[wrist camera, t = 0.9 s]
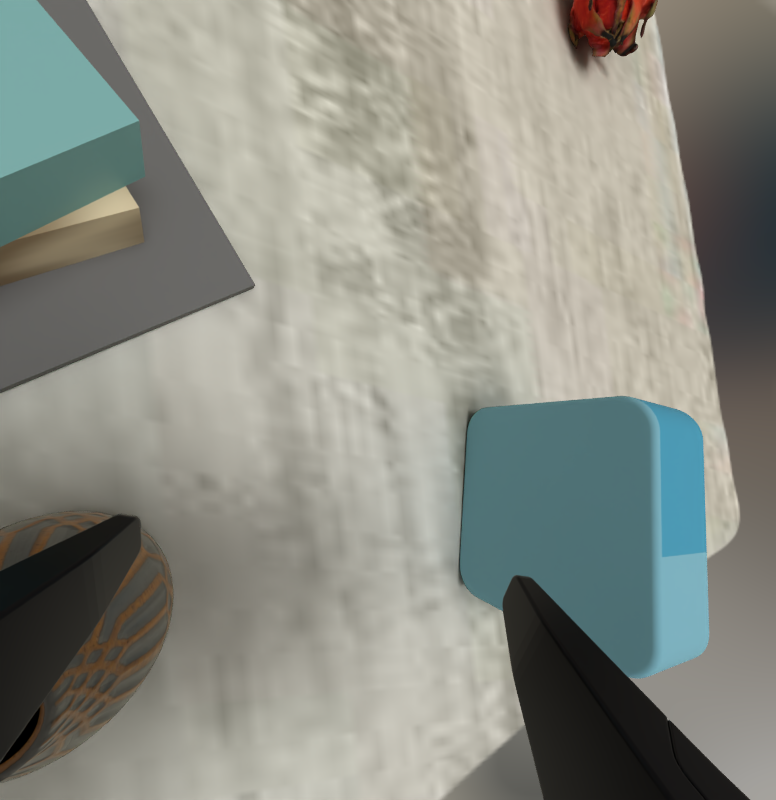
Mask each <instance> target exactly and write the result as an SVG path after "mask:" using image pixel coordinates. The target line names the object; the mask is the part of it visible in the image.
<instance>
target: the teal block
mask: <svg viewBox="0 0 776 800" xmlns="http://www.w3.org/2000/svg"><path fill="white" fill-rule="evenodd" d="M143 177H145V169H144V160H143V150H142V141H141V132H140V123H139V120H138V119H137V117H136V116H135V115H134V114H133V113H132V112H131V110H130V109H129V108H128V107H127V106H126V105H125V103H124V102H123V101H122V100H121V99H120V97H119V96H118V95H117V94H116V93H115V92H114V90H113V89H112V88H111V87H110V86H109V85H108V83H107V82H106V81H105V80H104V79H103V78H102V76H101V75H100V74H99V73H98V72H97V70H96V69H95V68H94V67H93V66H92V65H91V63H90V62H89V61H88V60H87V59H86V58H85V56H84V55H83V54H82V53H81V52H80V51H79V49H78V48H77V47H76V46H75V45H74V43H73V42H72V41H71V40H70V39H69V38H68V36H67V35H66V34H65V33H64V32H63V31H62V29H61V28H60V27H59V26H58V25H57V24H56V22H55V21H54V20H53V19H52V18H51V17H50V15H49V14H48V13H47V12H46V11H45V9H44V8H43V7H42V6H41V5H40V4H39V2H38V1H37V0H0V247H2V246H4V245H6V244H8V243H10V242H12V241H14V240H16V239H18V238H20V237H22V236H24V235H26V234H28V233H30V232H32V231H34V230H37V229H39V228H41V227H43V226H45V225H47V224H49V223H51V222H53V221H55V220H57V219H59V218H61V217H63V216H65V215H67V214H69V213H71V212H73V211H75V210H78V209H80V208H82V207H84V206H86V205H88V204H90V203H92V202H94V201H96V200H98V199H100V198H102V197H104V196H106V195H108V194H110V193H112V192H114V191H116V190H119V189H121V188H123V187H125V186H127V185H129V184H131V183H133V182H135V181H137V180H139V179H141V178H143Z"/></svg>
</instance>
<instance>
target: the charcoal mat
mask: <svg viewBox="0 0 776 800" xmlns="http://www.w3.org/2000/svg"><path fill="white" fill-rule="evenodd" d="M37 1H38V2H39V4H40V5H41V6H42V7H43V8H44V9H45V11H46V12H47V13H48V14H49V15H50V17H51V18H52V19H53V20H54V21H55V22H56V24H57V25H58V26H59V27H60V28H61V29H62V31H63V32H64V33H65V34H66V35H67V36H68V38H69V39H70V40H71V41H72V42H73V43H74V45H75V46H76V47H77V48H78V49H79V51H80V52H81V53H82V54H83V55H84V56H85V58H86V59H87V60H88V61H89V62H90V63H91V65H92V66H93V67H94V68H95V69H96V70H97V72H98V73H99V74H100V75H101V76H102V78H103V79H104V80H105V81H106V82H107V83H108V85H109V86H110V87H111V88H112V89H113V90H114V92H115V93H116V94H117V95H118V96H119V97H120V99H121V100H122V101H123V102H124V103H125V105H126V106H127V107H128V108H129V109H130V110H131V112H132V113H133V114H134V115H135V116H136V117H137V119H138V120H139V123H140V132H141V141H142V150H143V160H144V169H145V177H143V178H141V179H139V180H137V181H135V182H133V183H131V184H129V185H127V186H126V188H127V189H128V191H129V192H130V194H131V195H132V197H133V199H134V200H135V202H136V203H137V205H138V206H139V210H140V216H141V223H142V229H143V236H144V243H140V244H137V245H134V246H130V247H127V248H124V249H121V250H117V251H114V252H111V253H107V254H104V255H101V256H98V257H94V258H91V259H88V260H84V261H81V262H78V263H75V264H71V265H68V266H65V267H61V268H58V269H55V270H52V271H48V272H45V273H42V274H39V275H35V276H32V277H29V278H25V279H22V280H19V281H16V282H12V283H9V284H6V285H2V286H0V393H1V392H3V391H6V390H8V389H11V388H13V387H15V386H18V385H20V384H23V383H25V382H27V381H30V380H32V379H35V378H37V377H40V376H42V375H44V374H47V373H49V372H52V371H54V370H56V369H59V368H61V367H64V366H66V365H69V364H71V363H73V362H76V361H78V360H81V359H83V358H85V357H88V356H90V355H93V354H95V353H98V352H100V351H102V350H105V349H107V348H110V347H112V346H114V345H117V344H119V343H122V342H124V341H127V340H129V339H131V338H134V337H136V336H139V335H141V334H143V333H146V332H148V331H151V330H153V329H156V328H158V327H160V326H163V325H165V324H168V323H170V322H172V321H175V320H177V319H180V318H182V317H185V316H187V315H189V314H192V313H194V312H197V311H199V310H201V309H204V308H206V307H209V306H211V305H214V304H216V303H218V302H221V301H223V300H226V299H228V298H231V297H233V296H235V295H238V294H240V293H243V292H245V291H247V290H250V289H252V288H254V286H255V284H254V282H253V280H252V279H251V277H250V275H249V274H248V272H247V270H246V269H245V267H244V265H243V263H242V262H241V260H240V258H239V257H238V255H237V253H236V252H235V250H234V248H233V247H232V245H231V243H230V242H229V240H228V238H227V237H226V235H225V233H224V232H223V230H222V228H221V226H220V225H219V223H218V221H217V220H216V218H215V216H214V215H213V213H212V211H211V210H210V208H209V206H208V205H207V203H206V201H205V200H204V198H203V196H202V194H201V193H200V191H199V189H198V188H197V186H196V184H195V183H194V181H193V179H192V178H191V176H190V174H189V173H188V171H187V169H186V168H185V166H184V164H183V163H182V161H181V159H180V157H179V156H178V154H177V152H176V151H175V149H174V147H173V146H172V144H171V142H170V141H169V139H168V137H167V136H166V134H165V132H164V131H163V129H162V127H161V125H160V124H159V122H158V120H157V119H156V117H155V115H154V114H153V112H152V110H151V109H150V107H149V105H148V104H147V102H146V100H145V99H144V97H143V95H142V93H141V92H140V90H139V88H138V87H137V85H136V83H135V82H134V80H133V78H132V77H131V75H130V73H129V72H128V70H127V68H126V67H125V65H124V63H123V62H122V60H121V58H120V56H119V55H118V53H117V51H116V50H115V48H114V46H113V45H112V43H111V41H110V40H109V38H108V36H107V35H106V33H105V31H104V30H103V28H102V26H101V24H100V23H99V21H98V19H97V18H96V16H95V14H94V13H93V11H92V9H91V8H90V6H89V4H88V3H87V1H86V0H37Z"/></svg>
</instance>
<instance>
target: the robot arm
mask: <svg viewBox="0 0 776 800" xmlns="http://www.w3.org/2000/svg"><path fill="white" fill-rule="evenodd" d="M140 549H141V524H140V519H139V517H137V516H133V515H127V514H118V515H115V516H113V517H111V518H109V519H107V520H105V521H103V522H100V523H98V524H96V525H94V526H92V527H90V528H88V529H86V530H84V531H82V532H80V533H77V534H75V535H73V536H71V537H69V538H67V539H65V540H63V541H61V542H59V543H57V544H55V545H52V546H50V547H48V548H46V549H44V550H42V551H40V552H38V553H36V554H34V555H32V556H29V557H27V558H25V559H23V560H21V561H19V562H17V563H15V564H13V565H11V566H9V567H6V568H4V569H2V570H0V762H1V760H2V759H3V758H4V756H5V755H6V753H7V752H8V751H9V749H10V748H11V746H12V745H13V743H14V742H15V741H16V739H17V738H18V736H19V735H20V734H21V732H22V731H23V729H24V728H25V727H26V725H27V724H28V722H29V721H30V719H31V718H32V717H33V715H34V714H35V712H36V711H37V710H38V708H39V707H40V705H41V704H42V702H43V701H44V700H45V698H46V697H47V695H48V694H49V693H50V691H51V690H52V688H53V687H54V685H55V684H56V683H57V681H58V680H59V678H60V677H61V676H62V674H63V673H64V671H65V670H66V668H67V667H68V666H69V664H70V663H71V661H72V660H73V659H74V657H75V656H76V654H77V653H78V651H79V650H80V649H81V647H82V646H83V644H84V643H85V642H86V640H87V639H88V637H89V636H90V634H91V633H92V632H93V630H94V629H95V627H96V626H97V624H98V623H99V621H100V620H101V618H102V616H103V615H104V613H105V611H106V610H107V608H108V606H109V605H110V603H111V601H112V599H113V598H114V596H115V594H116V592H117V591H118V589H119V587H120V585H121V584H122V582H123V580H124V578H125V577H126V575H127V573H128V571H129V570H130V568H131V566H132V564H133V563H134V561H135V559H136V557H137V556H138V554H139V552H140ZM502 608H503V615H504V621H505V628H506V634H507V641H508V648H509V654H510V661H511V667H512V672H513V677H514V682H515V686H516V690H517V694H518V698H519V702H520V706H521V710H522V714H523V718H524V722H525V726H526V730H527V734H528V738H529V742H530V746H531V750H532V754H533V758H534V762H535V766H536V770H537V774H538V778H539V783H540V787H541V790H542V794H543V799H544V800H750V799H749V798H748V797H747V796H746V795H745V794H744V793H743V792H741V791H740V790H739V789H738V788H737V787H736V786H735V785H734V784H733V783H732V782H731V781H730V780H729V779H728V778H727V777H726V776H725V775H724V774H723V773H722V772H721V771H720V770H718V768H717V767H716V766H715V765H714V764H713V763H711V761H710V760H709V759H708V758H707V757H705V755H704V754H703V753H702V752H701V751H700V750H699V749H698V748H697V747H696V746H695V745H694V744H693V743H692V742H691V741H690V740H689V739H688V738H686V736H685V735H684V734H683V733H682V732H681V731H680V730H679V729H678V728H677V727H676V726H675V725H674V724H673V723H672V722H671V721H670V720H669V721H667V717H666V716H665V715H664V714H663V713H662V712H661V711H660V710H659V708H658V707H656V705H655V704H654V703H653V702H652V701H651V700H650V699H649V698H648V697H647V696H646V695H645V694H644V693H643V692H642V691H641V690H640V689H639V688H638V687H637V686H636V685H635V684H634V683H633V682H632V681H631V680H630V679H629V678H628V676H627V675H626V674H625V673H624V672H623V671H622V670H621V669H620V668H619V667H618V666H617V665H616V664H615V663H614V662H613V661H612V660H611V659H610V658H609V657H608V656H607V655H606V654H605V653H604V652H603V651H602V650H601V649H600V648H599V647H598V646H597V645H596V643H595V642H594V641H593V640H592V639H591V638H590V637H589V636H588V635H587V634H586V633H585V632H584V631H583V630H582V629H581V628H580V627H579V626H578V625H577V624H576V623H575V622H574V621H573V620H572V619H571V618H570V617H569V616H568V615H567V614H566V613H565V611H564V610H563V609H562V608H561V607H560V606H559V605H558V604H557V603H556V602H555V601H554V600H553V599H552V598H551V597H550V596H549V595H548V594H547V593H546V592H545V591H544V590H543V589H542V588H541V587H540V586H539V585H538V584H537V583H536V582H535V581H534V580H533V579H532V578H531V577H528V576H521V575H515V576H513V577H512V579H511V581H510V583H509V586H508V588H507V590H506V592H505V595H504V597H503V602H502Z"/></svg>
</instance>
